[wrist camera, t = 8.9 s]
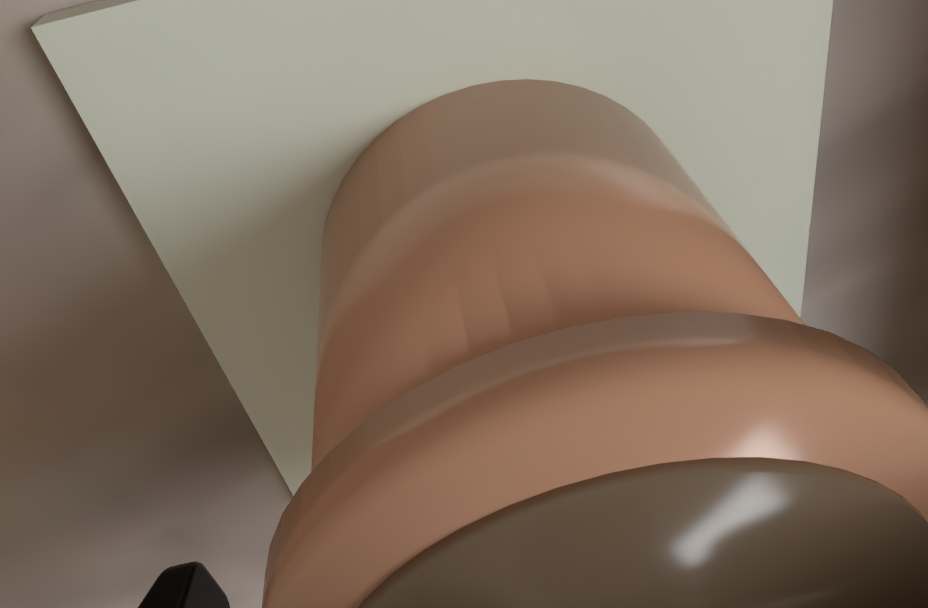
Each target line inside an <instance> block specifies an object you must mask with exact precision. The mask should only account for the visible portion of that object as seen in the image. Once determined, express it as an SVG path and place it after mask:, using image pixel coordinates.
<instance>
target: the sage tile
mask: <svg viewBox="0 0 928 608" xmlns="http://www.w3.org/2000/svg"><path fill="white" fill-rule="evenodd" d="M832 7H833V0H99V1H95V2H91V3H87V4H83V5H79V6H75V7H71V8H67V9H63V10H59V11H56V12H52V13H48V14H45V15H44V16H43V17H42V18H40V19H39V20H38V21H37V22H36V23H35V24H34V25H33V26H32V27H31V29H32V31H33V33H34V34H35V36H36V38H37V40H38V42H39V43H40V45H41V47H42V49H43V50H44V52H45V54H46V56H47V58H48V59H49V61H50V63H51V65H52V66H53V68H54V70H55V72H56V74H57V75H58V77H59V79H60V81H61V83H62V84H63V86H64V88H65V90H66V91H67V93H68V95H69V97H70V99H71V100H72V102H73V104H74V106H75V107H76V109H77V111H78V113H79V115H80V116H81V118H82V120H83V122H84V124H85V125H86V127H87V129H88V131H89V132H90V134H91V136H92V138H93V140H94V141H95V143H96V145H97V147H98V148H99V150H100V152H101V154H102V156H103V157H104V159H105V161H106V163H107V165H108V166H109V168H110V170H111V172H112V173H113V175H114V177H115V179H116V181H117V182H118V184H119V186H120V188H121V189H122V191H123V193H124V195H125V197H126V198H127V200H128V202H129V204H130V206H131V207H132V209H133V211H134V213H135V214H136V216H137V218H138V220H139V222H140V223H141V225H142V227H143V229H144V230H145V232H146V234H147V236H148V238H149V239H150V241H151V243H152V245H153V247H154V248H155V250H156V252H157V254H158V255H159V257H160V259H161V261H162V263H163V264H164V266H165V268H166V270H167V271H168V273H169V275H170V277H171V279H172V280H173V282H174V284H175V286H176V288H177V289H178V291H179V293H180V295H181V296H182V298H183V300H184V302H185V304H186V305H187V307H188V309H189V311H190V312H191V314H192V316H193V318H194V320H195V321H196V323H197V325H198V327H199V329H200V330H201V332H202V334H203V336H204V337H205V339H206V341H207V343H208V345H209V346H210V348H211V350H212V352H213V353H214V355H215V357H216V359H217V361H218V362H219V364H220V366H221V368H222V370H223V371H224V373H225V375H226V377H227V378H228V380H229V382H230V384H231V386H232V387H233V389H234V391H235V393H236V394H237V396H238V398H239V400H240V402H241V403H242V405H243V407H244V409H245V411H246V412H247V414H248V416H249V418H250V419H251V421H252V423H253V425H254V427H255V428H256V430H257V432H258V434H259V435H260V437H261V439H262V441H263V443H264V444H265V446H266V448H267V450H268V452H269V453H270V455H271V457H272V459H273V460H274V462H275V464H276V466H277V468H278V469H279V471H280V473H281V475H282V476H283V478H284V480H285V482H286V484H287V485H288V487H289V489H290V491H291V493H292V494H293V496H294V495H295V493H296V492H297V490H298V488H299V487H300V485H301V484H302V482H303V481H304V480H305V479H306V478H307V477H308V475H309V474H310V473H311V466H312V444H313V423H314V402H315V381H316V360H317V339H318V318H319V296H320V275H321V254H322V239H323V233H324V227H325V222H326V218H327V215H328V212H329V209H330V206H331V203H332V200H333V197H334V195H335V193H336V192H337V190H338V188H339V186H340V184H341V182H342V180H343V178H344V176H345V175H346V173H347V172H348V170H349V169H350V168H351V166H352V165H353V163H354V162H355V161H356V159H357V158H358V156H359V155H360V154H361V153H362V152H363V151H364V150H365V149H366V148H367V147H368V146H369V145H370V144H371V142H372V141H373V140H374V139H375V138H376V137H377V136H379V135H380V134H381V133H382V132H384V131H385V130H386V129H387V128H388V127H390V126H391V125H392V124H393V123H394V122H396V121H397V120H399V119H400V118H402V117H403V116H405V115H407V114H408V113H410V112H411V111H413V110H415V109H416V108H418V107H419V106H421V105H423V104H426V103H428V102H430V101H432V100H434V99H436V98H439V97H441V96H443V95H445V94H448V93H451V92H454V91H458V90H461V89H464V88H467V87H470V86H474V85H479V84H485V83H490V82H496V81H503V80H522V79H532V80H545V81H556V82H561V83H565V84H570V85H575V86H579V87H583V88H585V89H588V90H591V91H593V92H596V93H599V94H601V95H604V96H606V97H608V98H610V99H612V100H613V101H615V102H617V103H619V104H621V105H622V106H624V107H626V108H627V109H629V110H630V111H631V112H633V113H634V114H635V115H636V116H638V117H639V118H640V119H642V120H643V121H644V122H645V123H646V124H647V125H648V126H649V127H650V128H651V129H652V130H653V131H654V133H655V134H656V135H657V136H658V137H659V138H660V139H661V140H662V142H663V143H664V144H665V146H666V147H667V148H668V149H669V151H670V152H671V153H672V154H673V156H674V157H675V158H676V160H677V161H678V162H679V163H680V165H681V166H682V167H683V169H684V170H685V171H686V172H687V174H688V175H689V176H690V178H691V179H692V180H693V181H694V183H695V184H696V185H697V187H698V188H699V189H700V190H701V192H702V193H703V194H704V195H705V197H706V198H707V199H708V201H709V202H710V203H711V204H712V206H713V207H714V208H715V210H716V211H717V212H718V213H719V215H720V216H721V217H722V219H723V220H724V221H725V222H726V224H727V225H728V226H729V227H730V229H731V230H732V231H733V233H734V234H735V235H736V236H737V238H738V239H739V240H740V242H741V243H742V244H743V245H744V247H745V248H746V249H747V251H748V252H749V253H750V254H751V256H752V257H753V258H754V260H755V261H756V262H757V263H758V265H759V266H760V267H761V268H762V270H763V271H764V272H765V274H766V275H767V276H768V277H769V279H770V280H771V281H772V283H773V284H774V285H775V286H776V288H777V289H778V290H779V292H780V293H781V294H782V295H783V297H784V298H785V299H786V301H787V302H788V303H789V304H790V306H791V307H792V308H793V309H794V311H795V312H796V313H797V315H798V316H799V317H800V318H801V309H802V299H803V289H804V280H805V270H806V260H807V250H808V241H809V231H810V221H811V211H812V202H813V192H814V182H815V173H816V163H817V153H818V143H819V134H820V124H821V114H822V104H823V95H824V85H825V75H826V65H827V56H828V46H829V36H830V27H831V17H832Z"/></svg>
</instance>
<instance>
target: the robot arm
mask: <svg viewBox="0 0 928 608" xmlns="http://www.w3.org/2000/svg"><path fill="white" fill-rule="evenodd" d="M138 608H230V605H229V602H228V599H227V596H226V595H225V593H224V592H223V590H222V589H221V588H220V586H219V585H218V584H217V582H216V581H215V580H214V578H213V577H212V576H211V574H210V573H209V572H208V571H207V569H206V568H205V567H204V566H203V564H201V563H199V562H189V563H185V564H181V565H177V566H172V567H169V568H167V569H166V570H164V571H163V572H162V573H161V574H160V575H159V577H158V578H157V580H156V581H155V583H154V584H153V586H152V587H151V589H150V590H149V592H148V593H147V595H146V596H145V598H144V599H143V601H142V602H141V604H140V605H139V607H138Z"/></svg>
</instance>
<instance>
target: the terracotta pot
mask: <svg viewBox="0 0 928 608" xmlns="http://www.w3.org/2000/svg"><path fill="white" fill-rule="evenodd" d="M262 608H928V406H927V405H926V404H925V402H924V401H923V400H922V399H921V398H920V397H919V396H918V394H917V393H916V392H915V391H914V390H913V389H912V388H911V387H910V386H909V384H908V383H907V382H906V381H905V380H904V379H903V378H902V377H901V376H900V375H899V373H898V372H897V371H896V370H895V369H893V368H892V367H891V366H889V365H888V364H886V363H885V362H884V361H882V360H881V359H879V358H878V357H877V356H875V355H874V354H872V353H871V352H870V351H868V350H867V349H865V348H863V347H860V346H858V345H856V344H854V343H852V342H850V341H848V340H845V339H843V338H841V337H839V336H837V335H835V334H832V333H830V332H827V331H823V330H820V329H816V328H813V327H809V326H806V325H805V324H804V322H803V321H802V320H801V318H800V317H799V316H798V315H797V313H796V312H795V311H794V309H793V308H792V307H791V306H790V304H789V303H788V302H787V301H786V299H785V298H784V297H783V295H782V294H781V293H780V292H779V290H778V289H777V288H776V286H775V285H774V284H773V283H772V281H771V280H770V279H769V277H768V276H767V275H766V274H765V272H764V271H763V270H762V268H761V267H760V266H759V265H758V263H757V262H756V261H755V260H754V258H753V257H752V256H751V254H750V253H749V252H748V251H747V249H746V248H745V247H744V245H743V244H742V243H741V242H740V240H739V239H738V238H737V236H736V235H735V234H734V233H733V231H732V230H731V229H730V227H729V226H728V225H727V224H726V222H725V221H724V220H723V219H722V217H721V216H720V215H719V213H718V212H717V211H716V210H715V208H714V207H713V206H712V204H711V203H710V202H709V201H708V199H707V198H706V197H705V195H704V194H703V193H702V192H701V190H700V189H699V188H698V187H697V185H696V184H695V183H694V181H693V180H692V179H691V178H690V176H689V175H688V174H687V172H686V171H685V170H684V169H683V167H682V166H681V165H680V163H679V162H678V161H677V160H676V158H675V157H674V156H673V154H672V153H671V152H670V151H669V149H668V148H667V147H666V146H665V144H664V143H663V142H662V140H661V139H660V138H659V137H658V136H657V135H656V134H655V133H654V131H653V130H652V129H651V128H650V127H649V126H648V125H647V124H646V123H645V122H644V121H643V120H642V119H640V118H639V117H638V116H636V115H635V114H634V113H633V112H631V111H630V110H629V109H627V108H626V107H624V106H622V105H621V104H619V103H617V102H615V101H613V100H612V99H610V98H608V97H606V96H604V95H601V94H599V93H596V92H593V91H591V90H588V89H585V88H583V87H579V86H575V85H570V84H565V83H561V82H556V81H545V80H532V79H522V80H503V81H496V82H490V83H485V84H479V85H474V86H470V87H467V88H464V89H461V90H458V91H454V92H451V93H448V94H445V95H443V96H441V97H439V98H436V99H434V100H432V101H430V102H428V103H426V104H423V105H421V106H419V107H418V108H416V109H415V110H413V111H411V112H410V113H408V114H407V115H405V116H403V117H402V118H400V119H399V120H397V121H396V122H394V123H393V124H392V125H391V126H390V127H388V128H387V129H386V130H385V131H384V132H382V133H381V134H380V135H379V136H377V137H376V138H375V139H374V140H373V141H372V142H371V144H370V145H369V146H368V147H367V148H366V149H365V150H364V151H363V152H362V153H361V154H360V155H359V156H358V158H357V159H356V161H355V162H354V163H353V165H352V166H351V168H350V169H349V170H348V172H347V173H346V175H345V176H344V178H343V180H342V182H341V184H340V186H339V188H338V190H337V192H336V193H335V195H334V197H333V200H332V203H331V206H330V209H329V212H328V215H327V218H326V222H325V227H324V233H323V239H322V254H321V275H320V296H319V318H318V339H317V360H316V381H315V402H314V423H313V444H312V466H311V473H310V474H309V475H308V477H307V478H306V479H305V480H304V481H303V482H302V484H301V485H300V487H299V488H298V490H297V492H296V493H295V495H294V496H293V498H292V500H291V501H290V503H289V504H288V506H287V507H286V509H285V511H284V512H283V514H282V516H281V519H280V521H279V524H278V526H277V529H276V531H275V534H274V536H273V539H272V541H271V544H270V548H269V554H268V560H267V566H266V572H265V580H264V590H263V601H262Z"/></svg>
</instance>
